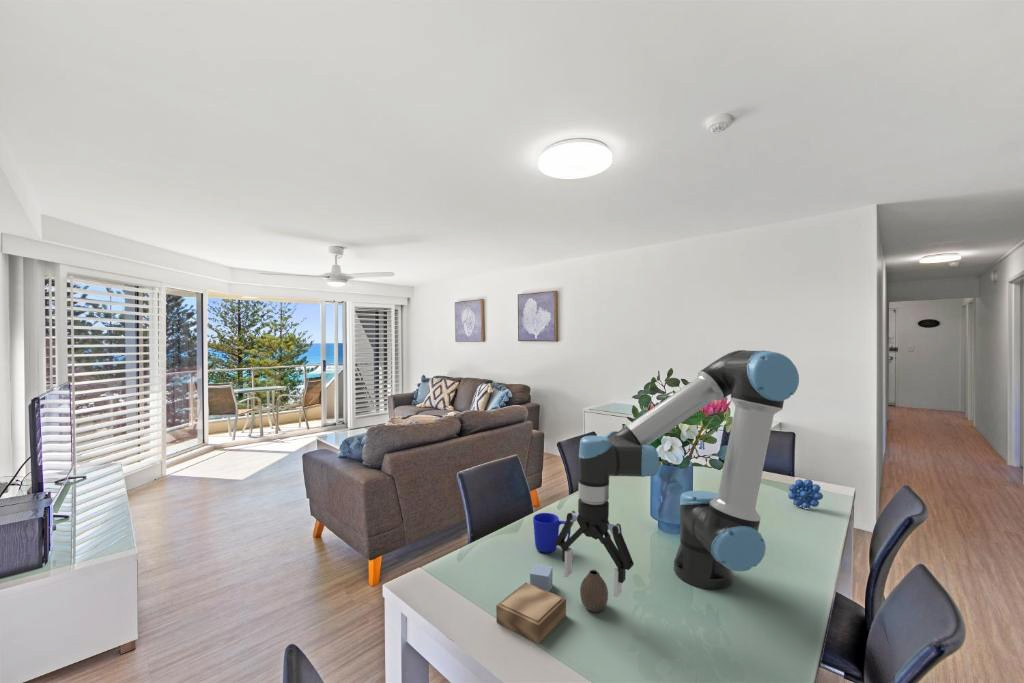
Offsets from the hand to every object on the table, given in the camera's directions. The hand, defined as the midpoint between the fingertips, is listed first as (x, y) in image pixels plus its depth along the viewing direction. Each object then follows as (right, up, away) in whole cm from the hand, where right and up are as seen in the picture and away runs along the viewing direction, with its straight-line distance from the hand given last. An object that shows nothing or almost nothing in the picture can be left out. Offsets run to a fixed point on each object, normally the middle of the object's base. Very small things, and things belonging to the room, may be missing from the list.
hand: (592, 584), depth 107 cm
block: (-12, -6, +8) cm, 16 cm away
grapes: (+96, -5, +62) cm, 114 cm away
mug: (-7, -6, +30) cm, 31 cm away
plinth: (-15, -6, -4) cm, 17 cm away
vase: (0, -6, 0) cm, 6 cm away
